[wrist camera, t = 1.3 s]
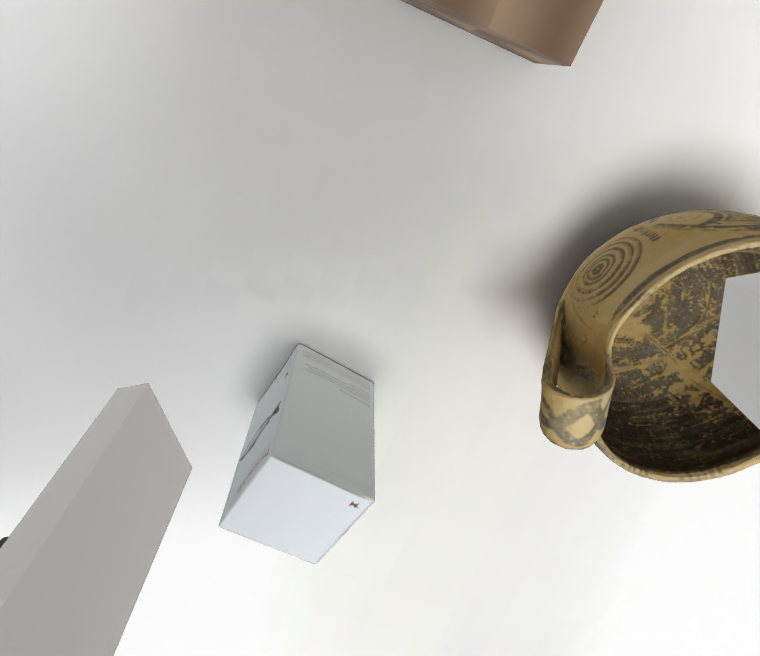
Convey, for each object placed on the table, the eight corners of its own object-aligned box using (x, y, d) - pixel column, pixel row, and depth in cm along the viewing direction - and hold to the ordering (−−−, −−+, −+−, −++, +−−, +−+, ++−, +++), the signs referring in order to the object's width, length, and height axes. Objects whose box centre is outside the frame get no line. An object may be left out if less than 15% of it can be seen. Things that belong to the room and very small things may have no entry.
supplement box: (297, 339, 40) (271, 453, 28) (376, 382, 42) (380, 503, 31) (253, 402, 42) (214, 528, 31) (329, 439, 45) (316, 569, 34)
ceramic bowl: (825, 174, 34) (1110, 254, 21) (747, 381, 42) (917, 530, 29) (496, 190, 34) (576, 280, 21) (482, 394, 42) (533, 549, 29)
